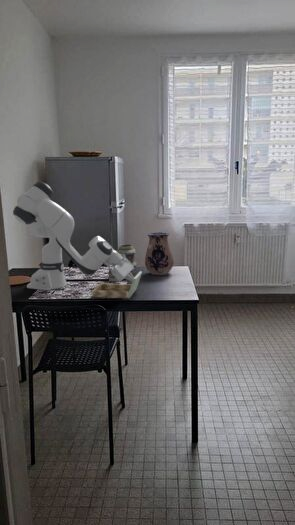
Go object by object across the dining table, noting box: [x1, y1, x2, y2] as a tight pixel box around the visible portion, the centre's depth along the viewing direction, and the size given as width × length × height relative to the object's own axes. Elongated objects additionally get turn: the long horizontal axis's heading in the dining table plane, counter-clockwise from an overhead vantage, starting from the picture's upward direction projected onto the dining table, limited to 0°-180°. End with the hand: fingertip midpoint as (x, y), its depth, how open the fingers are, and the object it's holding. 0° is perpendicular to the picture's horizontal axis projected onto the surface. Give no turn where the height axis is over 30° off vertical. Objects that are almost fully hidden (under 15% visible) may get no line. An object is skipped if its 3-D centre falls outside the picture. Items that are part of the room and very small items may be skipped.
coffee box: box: [108, 253, 122, 282], centre depth 237 cm, size 9×6×16 cm
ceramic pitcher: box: [144, 231, 174, 276], centre depth 250 cm, size 18×21×25 cm
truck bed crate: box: [91, 282, 132, 299], centre depth 212 cm, size 18×14×4 cm
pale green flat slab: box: [126, 270, 143, 299], centre depth 209 cm, size 1×14×12 cm, turn 167°
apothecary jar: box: [116, 243, 137, 276], centre depth 252 cm, size 12×12×18 cm
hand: (133, 280), depth 208 cm, fingers closed, pressing on pale green flat slab
